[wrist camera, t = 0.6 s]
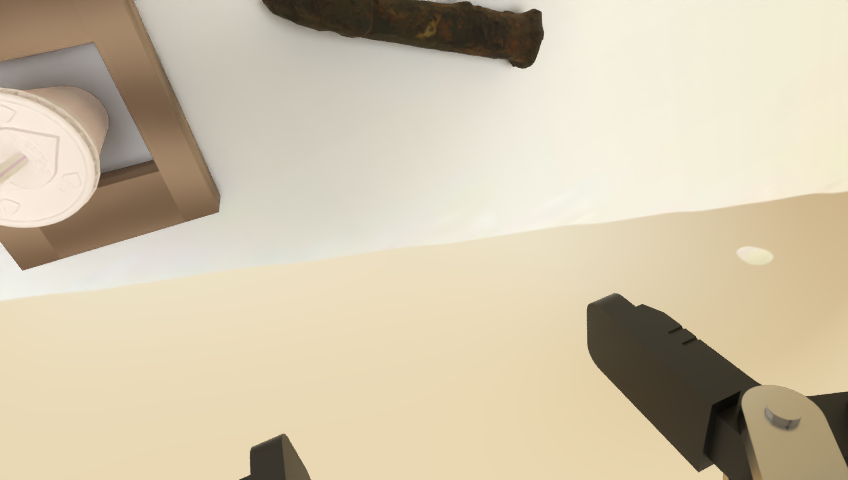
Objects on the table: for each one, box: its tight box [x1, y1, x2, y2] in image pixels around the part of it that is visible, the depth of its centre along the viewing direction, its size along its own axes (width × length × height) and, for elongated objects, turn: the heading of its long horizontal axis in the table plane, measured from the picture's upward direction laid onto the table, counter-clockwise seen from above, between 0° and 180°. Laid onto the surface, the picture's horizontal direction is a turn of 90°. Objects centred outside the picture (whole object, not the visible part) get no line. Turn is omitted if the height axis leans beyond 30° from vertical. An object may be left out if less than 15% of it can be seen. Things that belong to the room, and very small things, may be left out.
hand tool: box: [262, 0, 544, 69], centre depth 31 cm, size 19×4×5 cm, turn 79°
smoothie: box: [0, 86, 109, 228], centre depth 23 cm, size 6×6×14 cm
